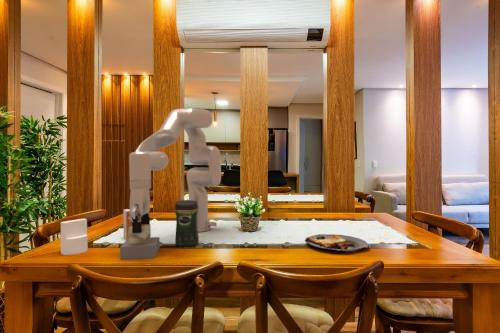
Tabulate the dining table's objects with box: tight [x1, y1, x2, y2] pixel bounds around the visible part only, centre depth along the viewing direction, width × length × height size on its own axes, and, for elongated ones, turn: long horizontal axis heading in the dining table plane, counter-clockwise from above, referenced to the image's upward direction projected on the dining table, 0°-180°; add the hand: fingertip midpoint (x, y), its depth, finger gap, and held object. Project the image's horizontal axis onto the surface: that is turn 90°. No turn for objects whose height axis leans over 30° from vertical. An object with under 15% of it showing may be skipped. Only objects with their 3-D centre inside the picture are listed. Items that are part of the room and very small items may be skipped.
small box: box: [122, 208, 141, 241], centre depth 139 cm, size 8×6×13 cm
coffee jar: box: [174, 199, 200, 247], centre depth 129 cm, size 10×8×19 cm
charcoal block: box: [119, 236, 161, 260], centre depth 116 cm, size 12×12×5 cm
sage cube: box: [129, 223, 152, 244], centre depth 115 cm, size 6×6×6 cm
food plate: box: [304, 233, 369, 253], centre depth 127 cm, size 25×23×4 cm
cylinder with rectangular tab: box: [60, 218, 88, 256], centre depth 119 cm, size 9×9×12 cm
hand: (141, 229), depth 116 cm, fingers open, 9 cm apart
